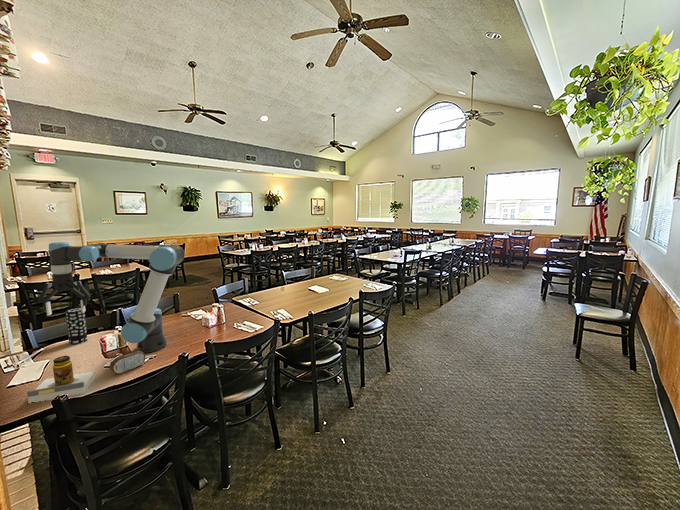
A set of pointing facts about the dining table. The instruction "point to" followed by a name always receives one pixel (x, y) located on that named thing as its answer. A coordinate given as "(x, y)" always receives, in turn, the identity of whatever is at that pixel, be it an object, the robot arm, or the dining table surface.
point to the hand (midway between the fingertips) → (66, 313)
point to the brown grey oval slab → (127, 362)
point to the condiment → (62, 372)
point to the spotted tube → (76, 326)
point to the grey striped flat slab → (61, 388)
